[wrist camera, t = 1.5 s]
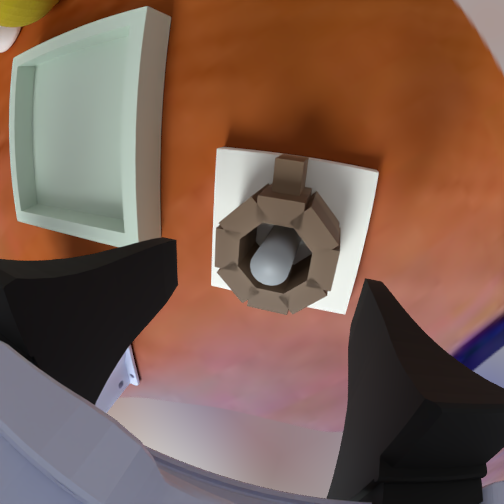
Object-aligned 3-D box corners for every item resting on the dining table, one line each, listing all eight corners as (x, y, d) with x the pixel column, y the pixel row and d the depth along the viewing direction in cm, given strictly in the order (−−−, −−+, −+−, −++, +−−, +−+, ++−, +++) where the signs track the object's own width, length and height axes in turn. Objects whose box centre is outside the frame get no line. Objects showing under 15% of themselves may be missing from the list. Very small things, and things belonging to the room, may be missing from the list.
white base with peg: (345, 305, 17) (342, 360, 13) (217, 277, 19) (182, 321, 15) (376, 169, 14) (392, 188, 10) (224, 146, 16) (180, 157, 11)
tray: (161, 237, 19) (139, 252, 17) (37, 211, 22) (17, 220, 20) (171, 17, 13) (147, 6, 11) (35, 57, 16) (13, 57, 14)
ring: (327, 289, 16) (322, 322, 13) (233, 270, 17) (213, 297, 15) (351, 165, 13) (354, 174, 11) (242, 148, 14) (219, 154, 12)
